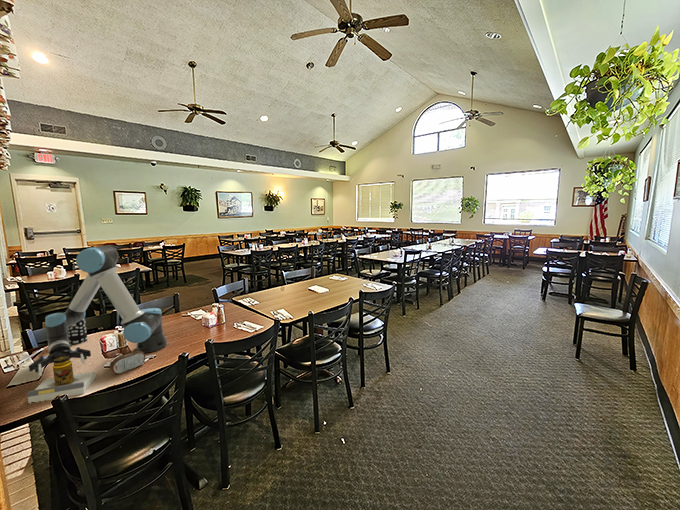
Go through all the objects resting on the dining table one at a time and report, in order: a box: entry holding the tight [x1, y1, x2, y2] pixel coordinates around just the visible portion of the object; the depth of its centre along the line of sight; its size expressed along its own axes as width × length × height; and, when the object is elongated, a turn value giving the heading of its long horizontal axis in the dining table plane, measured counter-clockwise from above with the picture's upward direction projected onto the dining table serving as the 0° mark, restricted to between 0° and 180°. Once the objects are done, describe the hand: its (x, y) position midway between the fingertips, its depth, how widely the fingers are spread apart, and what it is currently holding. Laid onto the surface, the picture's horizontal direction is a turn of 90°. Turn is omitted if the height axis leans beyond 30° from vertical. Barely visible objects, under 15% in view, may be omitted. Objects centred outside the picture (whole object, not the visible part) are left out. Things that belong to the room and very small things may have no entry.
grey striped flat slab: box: [26, 370, 96, 404], centre depth 129 cm, size 18×14×5 cm
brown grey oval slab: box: [109, 350, 146, 375], centre depth 146 cm, size 15×3×8 cm, turn 148°
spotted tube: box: [64, 310, 88, 346], centre depth 175 cm, size 8×8×20 cm
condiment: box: [48, 356, 79, 387], centre depth 128 cm, size 7×8×12 cm
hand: (62, 366), depth 126 cm, fingers open, 13 cm apart
